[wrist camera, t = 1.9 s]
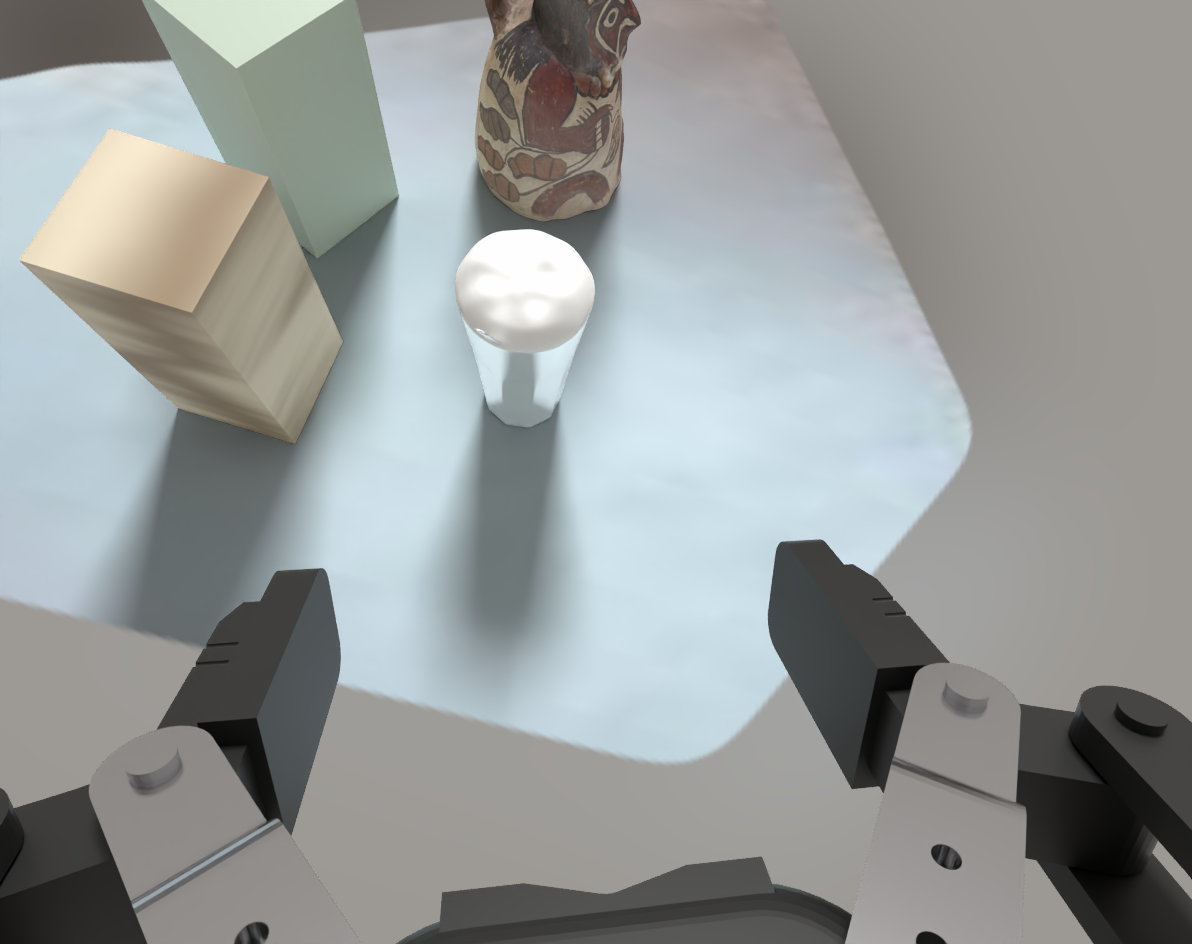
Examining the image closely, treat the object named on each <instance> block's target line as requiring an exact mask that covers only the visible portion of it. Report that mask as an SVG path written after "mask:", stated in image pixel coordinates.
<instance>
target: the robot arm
mask: <svg viewBox="0 0 1192 944" xmlns="http://www.w3.org/2000/svg"><path fill="white" fill-rule="evenodd" d="M768 626H769V633H770V637H771V640H772V643H773V646H774V648H775V650H776V652H777V653H778V655H779V657H780V659H781V661H782V662H783V664H784V666H785V668H786V670H787V672H788V673H789V675H790V677H791V679H792V681H793V683H794V684H795V686H796V688H797V690H798V692H799V693H800V695H801V697H802V699H803V701H804V702H805V704H806V706H807V708H808V710H809V712H810V713H811V715H812V717H813V719H814V721H815V723H816V724H817V726H818V728H819V730H820V732H821V734H822V735H823V737H824V739H825V741H826V743H827V744H828V746H829V748H830V750H831V752H832V754H833V755H834V757H835V759H836V761H837V763H838V764H839V766H840V768H841V770H842V772H843V774H844V775H845V777H846V779H847V781H848V783H849V785H850V787H851V788H852V789H857V788H866V787H876V786H879V787H880V788H881V790H882V792H883V793H884V794H883V798H882V802H881V806H880V810H879V814H878V818H877V822H876V825H875V829H874V833H873V837H872V841H871V845H870V849H869V853H868V857H867V860H866V864H865V868H864V872H863V876H862V880H861V884H860V887H859V891H858V895H857V899H856V903H855V907H854V911H853V914H852V915H851V914H849V913H848V912H847V911H845V910H843V909H842V908H840V907H838V906H837V905H834V904H832V903H830V902H828V901H826V900H824V899H822V898H820V897H818V896H815V895H812V894H810V893H807V892H805V891H802V890H799V889H795V888H791V887H787V886H783V885H778V884H772V882H771V880H770V877H769V874H768V872H767V869H766V866H765V864H764V861H763V858H762V857H754V858H746V859H737V860H728V861H719V862H710V863H702V864H692V865H686V866H683V867H680V868H678V869H675V870H673V871H670V872H667V873H665V874H662V875H660V876H657V877H655V878H652V879H650V880H647V881H644V882H642V883H639V884H637V885H634V886H632V887H629V888H626V889H624V890H621V891H619V892H616V893H611V894H598V893H591V892H583V891H576V890H569V889H560V888H554V887H546V886H539V885H531V884H516V885H515V884H514V885H506V886H496V887H488V888H479V889H470V890H461V891H452V892H443V893H442V902H441V916H440V922H437V923H434V924H432V925H429V926H427V927H425V928H423V929H421V930H419V931H417V932H415V933H413V934H411V935H409V936H407V937H406V938H404V939H402V940H401V941H399V942H398V943H396V944H1022V932H1023V905H1024V877H1025V876H1024V875H1025V858H1028V859H1033V860H1037V862H1038V863H1039V864H1040V866H1041V867H1042V869H1043V870H1044V872H1045V873H1046V875H1047V876H1048V878H1049V879H1050V881H1051V882H1052V884H1053V885H1054V886H1055V888H1056V889H1057V891H1058V892H1059V894H1060V895H1061V897H1062V898H1063V899H1064V901H1065V903H1066V904H1067V905H1068V907H1069V908H1070V910H1071V911H1072V913H1073V914H1074V916H1075V917H1076V918H1077V920H1078V922H1079V923H1080V924H1081V926H1082V927H1083V929H1084V930H1085V932H1086V933H1087V935H1088V936H1089V938H1090V939H1091V940H1092V942H1093V943H1094V944H1192V899H1191V898H1190V897H1189V896H1188V895H1187V893H1186V892H1185V891H1184V890H1183V889H1182V888H1181V886H1180V885H1179V884H1178V883H1177V882H1176V881H1175V879H1174V878H1173V877H1172V876H1171V875H1170V873H1169V872H1168V871H1167V870H1166V869H1165V868H1164V866H1163V865H1162V864H1161V863H1160V862H1159V861H1158V859H1157V858H1156V857H1155V856H1154V855H1153V854H1152V852H1153V850H1154V848H1155V845H1156V843H1157V841H1159V842H1160V843H1161V844H1162V845H1163V846H1164V847H1165V849H1166V850H1167V851H1168V852H1169V853H1170V854H1171V856H1172V857H1173V858H1174V859H1175V860H1176V861H1177V862H1178V864H1179V865H1180V866H1181V867H1182V868H1183V869H1184V870H1185V871H1186V873H1187V874H1188V875H1189V876H1190V877H1191V879H1192V722H1191V721H1189V720H1188V719H1187V718H1186V717H1185V716H1184V715H1182V714H1181V713H1180V712H1178V711H1177V710H1175V709H1174V708H1172V707H1171V706H1169V705H1168V704H1166V703H1164V702H1162V701H1160V700H1158V699H1156V698H1154V697H1152V696H1149V695H1147V694H1144V693H1142V692H1138V691H1135V690H1132V689H1127V688H1123V687H1117V686H1096V687H1093V688H1089V689H1088V690H1086V691H1084V693H1083V694H1082V695H1081V698H1080V700H1079V703H1078V706H1077V708H1076V711H1075V712H1070V711H1063V710H1056V709H1049V708H1042V707H1036V706H1029V705H1024V704H1019V702H1018V700H1017V699H1016V697H1015V696H1014V694H1013V693H1012V692H1011V691H1010V690H1009V689H1008V688H1007V687H1006V686H1005V685H1004V684H1002V683H1001V682H999V681H998V680H997V679H995V678H994V677H992V676H990V675H988V674H986V673H984V672H982V671H980V670H977V669H974V668H972V667H968V666H964V665H960V664H954V663H950V662H949V661H948V660H947V659H946V658H945V657H944V655H943V654H942V653H941V652H940V651H939V650H938V649H937V647H936V646H935V645H934V644H933V643H932V642H931V640H930V639H929V638H928V637H927V636H926V635H925V634H924V632H923V631H922V630H921V629H920V628H919V627H918V626H917V624H916V623H914V621H913V620H912V619H911V617H910V616H906V612H905V611H904V609H903V608H902V607H901V606H900V605H899V604H898V603H897V602H896V601H893V597H892V596H891V595H890V593H889V592H888V591H887V590H886V589H885V588H884V586H883V585H882V584H881V583H880V582H879V581H878V580H877V579H876V578H874V577H873V576H871V575H869V574H868V573H866V572H865V571H863V570H861V569H860V568H858V567H856V566H855V565H853V564H849V565H844V564H843V563H842V562H841V561H840V559H839V558H838V557H837V556H836V554H835V553H834V552H833V551H832V550H831V548H830V547H829V546H828V545H827V543H826V542H825V541H823V540H820V539H819V540H803V541H786V542H781V543H780V544H779V545H778V547H777V550H776V555H775V562H774V570H773V578H772V586H771V593H770V601H769V609H768ZM206 645H207V648H206V649H203V651H202V653H201V654H200V656H199V658H198V660H197V661H196V667H193V668H192V670H191V672H190V673H189V675H188V677H187V679H186V680H185V682H184V684H183V686H182V687H181V689H180V691H179V692H178V694H177V696H176V697H175V699H174V701H173V702H172V704H171V706H170V708H169V709H168V711H167V713H166V714H165V716H164V718H163V720H162V722H161V723H160V725H159V726H158V728H157V730H155V731H152V732H149V733H146V734H144V735H142V736H139V737H137V738H135V739H133V740H131V741H129V742H128V743H126V744H125V745H123V746H121V747H120V748H119V749H117V750H116V751H115V752H113V753H112V754H111V755H110V756H109V757H108V758H107V759H106V760H105V761H103V763H102V764H101V765H100V766H99V768H98V769H97V770H96V772H95V773H94V775H93V777H92V779H91V782H90V784H89V785H86V786H83V787H81V788H78V789H75V790H72V791H68V792H65V793H62V794H59V795H56V796H52V797H49V798H46V799H43V800H40V801H36V802H33V803H30V804H27V805H23V806H20V807H17V808H13V806H12V804H11V802H10V799H9V797H8V795H7V794H6V792H5V791H4V790H3V789H1V788H0V944H363V943H362V942H361V941H360V939H359V937H358V936H357V934H356V933H355V931H354V930H353V928H352V927H351V925H350V924H349V923H348V921H347V919H346V918H345V916H344V915H343V913H342V912H341V910H340V909H339V908H338V906H337V905H336V903H335V902H334V900H333V898H332V897H331V896H330V894H329V892H328V891H327V890H326V888H325V886H324V885H323V883H322V882H321V880H320V879H319V877H318V876H317V874H316V873H315V871H314V870H313V869H312V867H311V865H310V864H309V862H308V861H307V859H306V858H305V856H304V855H303V853H302V852H301V850H300V849H299V847H298V846H297V844H296V843H295V841H294V840H293V838H292V837H291V835H292V832H293V828H294V825H295V822H296V818H297V815H298V812H299V808H300V805H301V801H302V798H303V795H304V792H305V788H306V785H307V782H308V778H309V775H310V772H311V768H312V765H313V762H314V758H315V755H316V751H317V748H318V745H319V742H320V738H321V735H322V732H323V728H324V725H325V722H326V718H327V715H328V711H329V708H330V705H331V702H332V698H333V695H334V691H335V688H336V685H337V682H338V678H339V672H340V661H341V652H340V641H339V635H338V629H337V624H336V618H335V613H334V607H333V602H332V596H331V590H330V585H329V580H328V576H327V573H326V571H325V570H324V569H323V568H319V569H302V570H286V571H277V572H276V573H275V574H274V576H273V578H272V579H271V581H270V583H269V585H268V587H267V589H266V591H265V593H264V595H263V597H262V599H261V601H259V602H243V603H242V604H241V605H240V606H239V607H237V608H236V609H235V610H234V611H232V612H231V613H230V614H229V615H228V616H226V617H225V618H224V619H223V620H221V621H220V622H219V624H218V625H217V627H216V629H215V630H214V632H213V634H212V636H211V637H210V639H209V641H208V642H207V644H206Z"/></svg>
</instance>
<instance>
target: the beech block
mask: <svg viewBox="0 0 1192 944" xmlns="http://www.w3.org/2000/svg"><path fill="white" fill-rule="evenodd" d="M19 261H20V262H21V263H22V264H24V265H25V266H26V267H27V268H28V269H29V270H30V271H31V272H32V273H33V274H34V275H35V276H36V277H37V278H39V279H40V280H41V281H42V282H43V283H44V284H45V285H46V286H47V287H48V288H49V289H50V290H51V291H53V292H54V293H55V294H56V295H57V296H58V297H59V298H60V299H61V300H62V301H63V302H64V303H65V304H66V305H68V306H69V307H70V308H71V309H72V310H73V311H74V312H75V313H76V314H77V315H78V316H79V317H80V318H81V319H83V320H84V321H85V322H86V323H87V324H88V325H89V326H90V327H91V328H92V329H93V330H94V331H95V332H97V333H98V334H99V335H100V336H101V337H102V338H103V339H104V340H105V341H106V342H107V343H108V344H109V345H110V346H112V347H113V348H114V349H115V350H116V351H117V352H118V353H119V354H120V355H121V356H122V357H123V358H124V359H126V360H127V361H128V362H129V363H130V364H131V365H132V366H133V367H134V368H135V369H136V370H137V371H138V372H139V373H141V374H142V375H143V376H144V377H145V378H146V379H147V380H148V381H149V382H150V383H151V384H152V385H153V386H155V387H156V388H157V389H158V390H159V391H160V392H161V393H162V394H163V395H164V396H165V397H166V398H167V399H168V400H170V401H171V402H172V403H173V404H174V405H175V406H176V407H177V408H178V409H182V410H185V411H188V412H192V413H195V414H198V415H201V416H205V417H208V418H211V419H215V420H218V421H221V422H224V423H228V424H231V425H234V426H238V427H241V428H244V429H248V430H251V431H254V432H257V433H261V434H264V435H267V436H271V437H274V438H277V439H281V440H284V441H287V442H290V443H294V444H296V441H297V439H298V437H299V435H300V433H301V431H302V429H303V427H304V424H305V422H306V420H307V418H308V416H309V414H310V412H311V410H312V407H313V405H314V403H315V401H316V399H317V397H318V395H319V393H320V390H321V388H322V386H323V384H324V382H325V380H326V378H327V376H328V373H329V371H330V369H331V367H332V365H333V363H334V361H335V358H336V356H337V354H338V352H339V350H340V348H341V346H342V344H343V340H342V338H341V336H340V334H339V332H338V329H337V327H336V325H335V323H334V320H333V318H332V316H331V314H330V312H329V309H328V307H327V305H326V303H325V301H324V298H323V296H322V294H321V292H320V289H319V287H318V285H317V283H316V281H315V278H314V276H313V274H312V272H311V269H310V267H309V265H308V263H307V261H306V258H305V256H304V254H303V252H302V249H301V247H300V245H299V243H298V241H297V238H296V236H295V234H294V232H293V229H292V227H291V225H290V223H289V221H288V218H287V216H286V214H285V212H284V209H283V207H282V205H281V203H280V201H279V198H278V196H277V194H276V192H275V189H274V187H273V185H272V183H271V181H270V178H269V177H267V176H264V175H261V174H257V173H254V172H251V171H247V170H244V169H241V168H238V167H234V166H231V165H228V164H225V163H221V162H218V161H215V160H212V159H208V158H205V157H202V156H199V155H195V154H192V153H189V152H186V151H182V150H179V149H176V148H172V147H169V146H166V145H163V144H159V143H156V142H153V141H150V140H146V139H143V138H140V137H137V136H133V135H130V134H127V133H124V132H120V131H117V130H114V129H109V130H108V132H107V133H106V135H105V136H104V138H103V139H102V140H101V142H100V143H99V145H98V146H97V148H96V149H95V151H94V152H93V153H92V155H91V156H90V158H89V159H88V161H87V162H86V164H85V165H84V166H83V168H82V169H81V171H80V172H79V174H78V175H77V177H76V178H75V180H74V181H73V182H72V184H71V185H70V187H69V188H68V190H67V191H66V193H65V194H64V195H63V197H62V198H61V200H60V201H59V203H58V204H57V206H56V207H55V208H54V210H53V211H52V213H51V214H50V216H49V217H48V219H47V220H46V221H45V223H44V224H43V226H42V227H41V229H40V230H39V232H38V233H37V234H36V236H35V237H34V239H33V240H32V242H31V243H30V245H29V246H28V248H27V249H26V250H25V252H24V253H23V255H22V256H21V258H20V259H19Z"/></svg>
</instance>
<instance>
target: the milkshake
mask: <svg viewBox="0 0 1192 944" xmlns="http://www.w3.org/2000/svg"><path fill="white" fill-rule="evenodd" d="M455 292H456V299H457V303H458V307H459V310H460V313H461V316H462V319H463V322H464V326H465V329H466V332H467V335H468V338H469V341H470V344H471V347H472V350H473V353H474V356H475V359H476V363H477V366H478V370H479V374H480V378H481V382H482V386H483V390H484V394H485V397H486V401H487V405H488V409H489V410H490V411H491V412H492V413H494V414H495V415H496V416H497V417H498V418H499V419H500V420H501V421H503V422H504V423H505V424H506V425H513V426H520V427H528V428H530V427H532V426H534V425H536V424H538V423H540V422H542V421H544V420H546V419H549V418H550V417H551V415H552V413H553V411H554V409H555V407H556V406H557V404H558V402H559V400H560V398H561V395H562V392H563V389H564V386H565V382H566V379H567V376H568V373H569V370H570V367H571V364H572V360H573V357H574V354H575V351H576V349H577V346H578V344H579V341H580V339H581V336H582V334H583V331H584V329H585V326H586V323H587V321H588V318H589V316H590V313H591V311H592V308H593V304H594V297H595V285H594V279H593V276H592V274H591V272H590V270H589V268H588V267H587V265H586V264H585V262H584V261H583V260H582V258H581V257H580V255H579V254H578V253H577V251H576V250H575V249H574V248H573V247H572V246H570V245H569V244H568V243H566V242H564V241H562V240H560V239H558V238H556V237H554V236H551V235H549V234H547V233H544V232H542V231H538V230H530V229H525V230H509V231H500V232H496V233H493V234H490V235H488V236H486V237H485V238H483V239H482V240H480V241H479V242H478V243H476V244H475V245H474V246H473V248H472V249H471V250H470V251H469V252H468V254H467V255H466V257H465V258H464V260H463V261H462V263H461V264H460V266H459V268H458V270H457V273H456V278H455Z"/></svg>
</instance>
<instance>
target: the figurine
mask: <svg viewBox="0 0 1192 944" xmlns="http://www.w3.org/2000/svg"><path fill="white" fill-rule="evenodd" d="M485 4H486V8H487V11H488V14H489V18H490V21H491V24H492V28H493V32H494V38H493V40H492V43H491V46H490V49H489V52H488V56H487V59H486V63H485V66H484V71H483V75H482V79H481V84H480V90H479V99H478V109H477V119H476V130H475V147H476V153H477V158H478V162H479V167H480V171H481V174H482V176H483V178H484V180H485V182H486V183H487V185H488V187H489V190H490V192H491V193H493V194H494V195H495V196H496V197H497V198H498V199H499V200H501V201H502V202H503V203H504V204H505V205H507V206H508V207H509V208H510V209H512V210H513V211H514V212H516V213H518V214H520V215H522V216H525V217H527V218H530V219H534V220H538V221H544V222H546V221H549V220H554V219H567V218H570V217H572V216H576V215H579V214H581V213H583V212H585V211H590V210H596V209H600V208H602V207H604V206H606V205H607V204H608V202H609V201H610V198H611V195H612V193H613V191H614V190H615V188H616V187H617V186H618V184H619V182H620V180H621V161H622V153H623V143H624V133H623V119H622V114H621V99H622V72H621V65H622V63H623V59H624V56H625V53H626V50H627V40H628V36H629V34H630V33H631V32H632V31H633V30H634V29H635V28H636V27H638V26H639V25H640V24H641V20H640V16H639V13H638V11H637V9H636V7H635V5H634V3H633V1H632V0H485Z"/></svg>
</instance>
